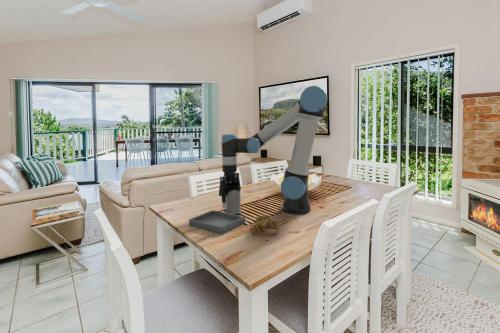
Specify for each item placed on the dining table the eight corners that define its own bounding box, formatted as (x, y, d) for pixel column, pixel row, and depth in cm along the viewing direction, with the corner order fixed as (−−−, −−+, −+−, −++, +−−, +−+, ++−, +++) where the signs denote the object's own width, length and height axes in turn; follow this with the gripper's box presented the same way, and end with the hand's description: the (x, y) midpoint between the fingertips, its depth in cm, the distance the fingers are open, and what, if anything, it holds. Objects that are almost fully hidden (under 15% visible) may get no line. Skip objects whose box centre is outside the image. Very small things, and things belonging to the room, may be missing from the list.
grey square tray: (244, 223, 142) (244, 217, 142) (222, 234, 128) (222, 228, 128) (212, 215, 153) (212, 210, 153) (189, 225, 139) (188, 219, 139)
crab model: (275, 240, 123) (275, 227, 122) (246, 236, 127) (246, 224, 126) (282, 226, 138) (282, 215, 137) (256, 224, 141) (256, 213, 140)
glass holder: (227, 215, 151) (225, 186, 149) (221, 207, 165) (220, 180, 163) (243, 213, 154) (242, 185, 151) (237, 205, 167) (236, 179, 165)
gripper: (235, 161, 165) (236, 200, 169) (210, 166, 148) (211, 210, 151) (247, 161, 161) (247, 202, 165) (222, 167, 143) (223, 212, 147)
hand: (230, 206), depth 158 cm, fingers closed on glass holder, 9 cm apart
